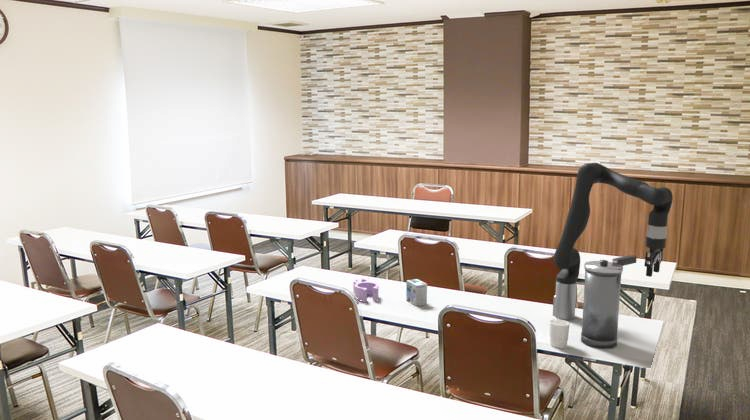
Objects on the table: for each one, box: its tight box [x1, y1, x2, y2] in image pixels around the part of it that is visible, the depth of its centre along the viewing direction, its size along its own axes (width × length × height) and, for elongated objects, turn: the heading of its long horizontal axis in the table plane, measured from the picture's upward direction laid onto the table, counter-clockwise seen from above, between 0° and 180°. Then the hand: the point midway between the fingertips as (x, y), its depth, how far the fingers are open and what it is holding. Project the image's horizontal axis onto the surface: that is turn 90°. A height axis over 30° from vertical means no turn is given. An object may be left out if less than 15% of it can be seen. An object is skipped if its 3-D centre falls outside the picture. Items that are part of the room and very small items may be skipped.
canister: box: [580, 268, 623, 350], centre depth 250 cm, size 14×14×32 cm
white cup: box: [549, 318, 570, 349], centre depth 249 cm, size 8×8×10 cm
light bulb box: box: [405, 278, 428, 306], centre depth 305 cm, size 11×7×11 cm, turn 25°
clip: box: [352, 278, 379, 303], centre depth 315 cm, size 20×12×7 cm, turn 20°
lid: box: [584, 254, 638, 274], centre depth 250 cm, size 15×28×4 cm, turn 123°
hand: (652, 274), depth 247 cm, fingers open, 8 cm apart
